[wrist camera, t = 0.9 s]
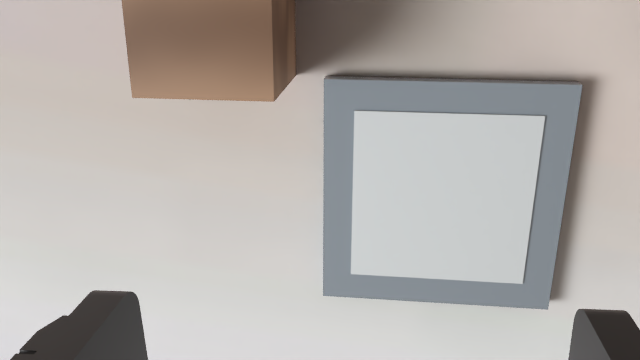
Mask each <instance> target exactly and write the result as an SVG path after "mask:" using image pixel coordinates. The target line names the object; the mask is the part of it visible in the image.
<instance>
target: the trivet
mask: <svg viewBox="0 0 640 360" xmlns="http://www.w3.org/2000/svg"><path fill="white" fill-rule="evenodd" d="M581 91H582V84H580V83H579V82H572V81H526V80H481V79H435V78H390V77H344V76H326V77H325V78H324V227H323V296H337V297H353V298H369V299H386V300H402V301H418V302H434V303H451V304H467V305H483V306H500V307H516V308H532V309H548V306H549V299H550V293H551V286H552V280H553V273H554V267H555V260H556V254H557V247H558V241H559V234H560V228H561V221H562V215H563V208H564V202H565V195H566V189H567V182H568V176H569V169H570V163H571V156H572V150H573V143H574V137H575V130H576V124H577V117H578V111H579V104H580V98H581Z"/></svg>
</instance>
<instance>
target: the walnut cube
mask: <svg viewBox="0 0 640 360" xmlns="http://www.w3.org/2000/svg"><path fill="white" fill-rule="evenodd" d="M122 8H123V17H124V26H125V35H126V44H127V54H128V63H129V72H130V81H131V90H132V98H162V99H199V100H236V101H273V102H274V101H275V100H276V99H277V97H278V96H279V95H280V94H281V93H282V91H283V90H284V89H285V88H286V87H287V85H288V84H289V83H290V82H291V81H292V79H293V78H294V77H295V76H296V39H295V0H122Z"/></svg>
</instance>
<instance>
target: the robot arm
mask: <svg viewBox="0 0 640 360" xmlns="http://www.w3.org/2000/svg"><path fill="white" fill-rule="evenodd" d="M10 360H148V357H147V351H146V344H145V338H144V331H143V325H142V318H141V312H140V305H139V301H138V298H137V296H136V294H135V293H133V292H125V291H97V290H95V291H92V292H90V293H89V294H88V295H87V296H86V298H85V299H84V300H83V301H82V302H81V303H80V304H79V305H78V306H77V307H76V309H75V310H74V311H73V312H72V313H71V314H70V315H69V316H62V317H60V318H58V319H57V320H55V321H54V322H52V323H50V324H49V325H47V326H45V327H44V328H42V329H40V330H39V331H37V332H36V333H35V334H34V335H33V336H32V338H31V339H30V340H29V341H28V342H27V343H26V344H25V345H24V346H23V347H22V348H21V349H20V353H19V354H15V355H14V356H13V357H12V358H11V359H10ZM569 360H640V330H639V328H638V327H637V325H636V324H635V322H634V321H633V319H632V318H631V316H630V315H629V313H628V312H626V311H624V310H596V309H579V310H578V311H577V312H576V314H575V318H574V323H573V330H572V338H571V345H570V352H569Z"/></svg>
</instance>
